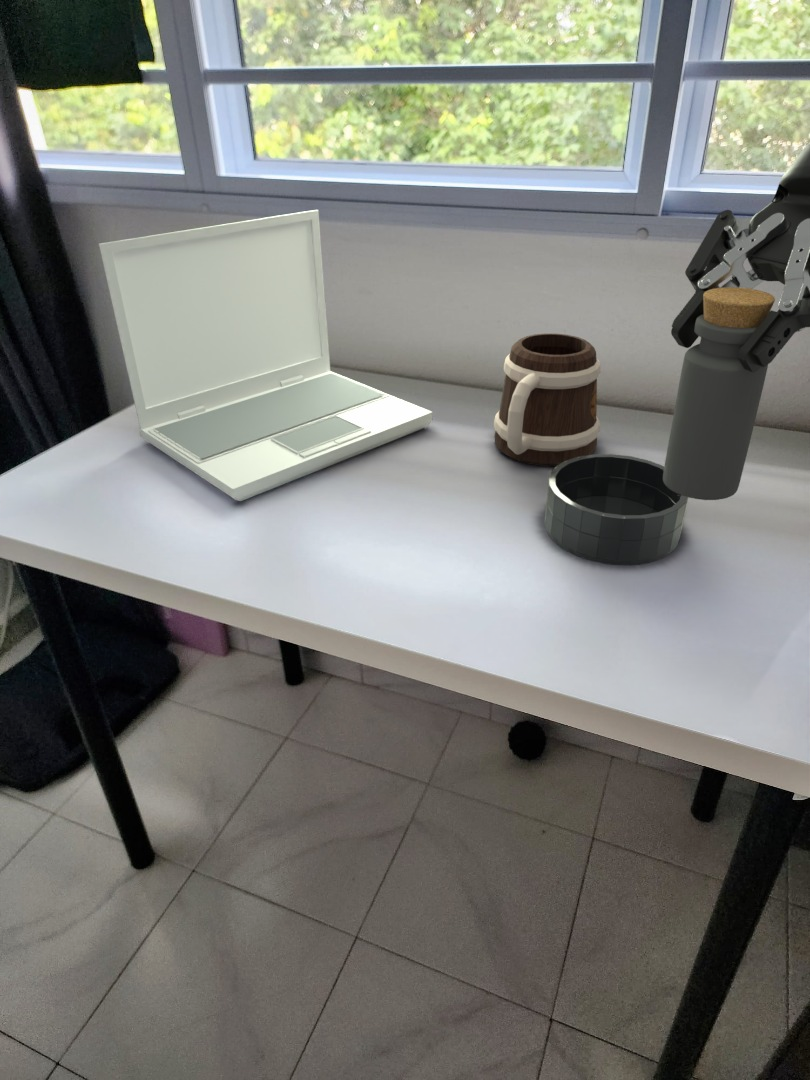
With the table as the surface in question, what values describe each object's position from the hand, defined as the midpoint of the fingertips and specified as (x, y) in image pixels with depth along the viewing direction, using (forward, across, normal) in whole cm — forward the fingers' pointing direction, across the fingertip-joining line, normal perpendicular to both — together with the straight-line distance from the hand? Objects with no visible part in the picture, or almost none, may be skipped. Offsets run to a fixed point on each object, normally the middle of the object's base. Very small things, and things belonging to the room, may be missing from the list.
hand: (711, 351), depth 54 cm
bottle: (+7, 0, +9) cm, 12 cm away
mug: (+8, -41, +34) cm, 53 cm away
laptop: (+28, -64, +13) cm, 71 cm away
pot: (+12, -20, +30) cm, 38 cm away
